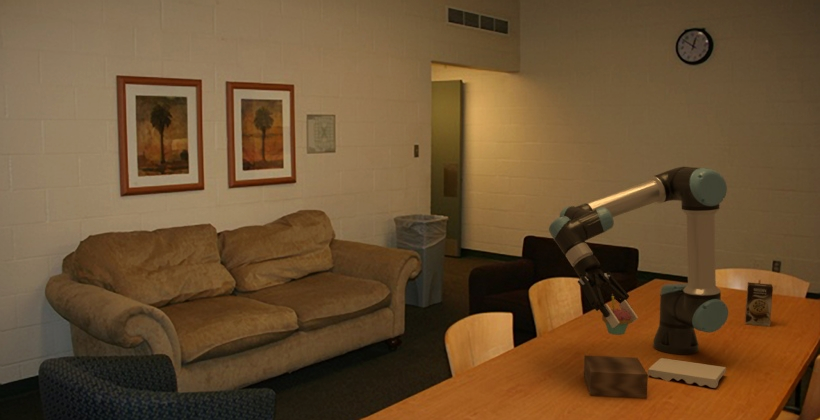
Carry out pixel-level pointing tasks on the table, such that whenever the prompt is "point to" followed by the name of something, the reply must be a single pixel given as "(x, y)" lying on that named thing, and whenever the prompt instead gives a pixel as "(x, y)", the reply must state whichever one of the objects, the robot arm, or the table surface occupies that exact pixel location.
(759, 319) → the cookie box
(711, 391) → the table surface
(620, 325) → the cupcake
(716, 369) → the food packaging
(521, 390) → the table surface
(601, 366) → the riser
